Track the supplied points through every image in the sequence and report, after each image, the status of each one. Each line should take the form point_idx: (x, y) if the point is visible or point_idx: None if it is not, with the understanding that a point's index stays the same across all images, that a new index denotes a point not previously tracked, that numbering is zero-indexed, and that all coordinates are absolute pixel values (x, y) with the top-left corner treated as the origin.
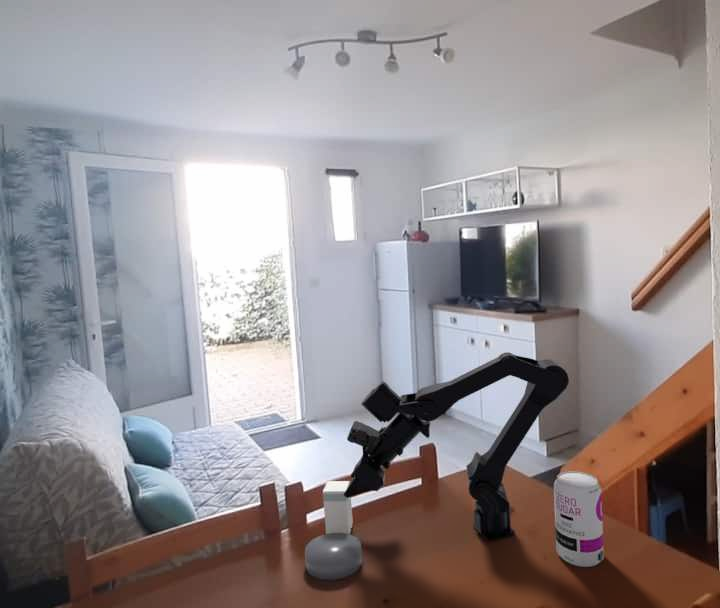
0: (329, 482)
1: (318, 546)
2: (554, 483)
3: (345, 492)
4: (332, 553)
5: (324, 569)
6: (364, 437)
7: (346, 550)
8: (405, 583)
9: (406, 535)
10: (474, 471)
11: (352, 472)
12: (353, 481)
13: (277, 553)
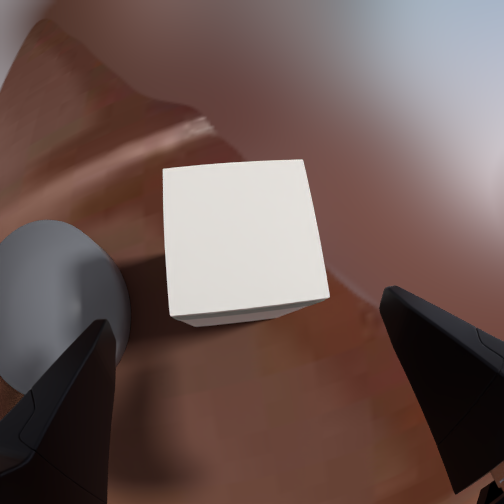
0: (289, 173)
1: (41, 258)
2: None
3: (83, 334)
4: (12, 313)
5: None
6: None
7: (26, 356)
8: None
9: (230, 499)
10: None
11: (403, 295)
12: (8, 420)
13: (100, 147)
